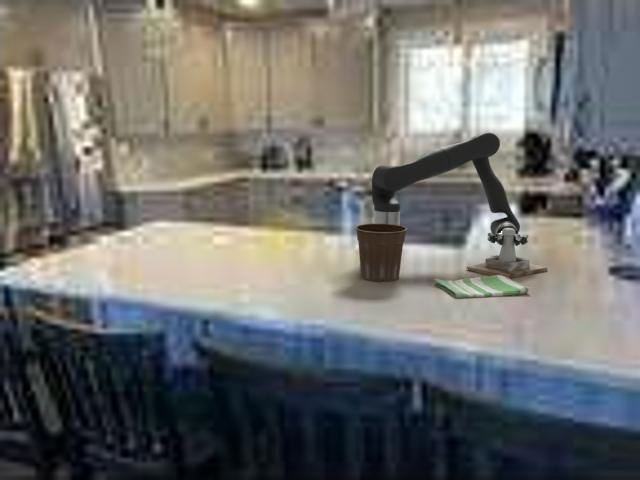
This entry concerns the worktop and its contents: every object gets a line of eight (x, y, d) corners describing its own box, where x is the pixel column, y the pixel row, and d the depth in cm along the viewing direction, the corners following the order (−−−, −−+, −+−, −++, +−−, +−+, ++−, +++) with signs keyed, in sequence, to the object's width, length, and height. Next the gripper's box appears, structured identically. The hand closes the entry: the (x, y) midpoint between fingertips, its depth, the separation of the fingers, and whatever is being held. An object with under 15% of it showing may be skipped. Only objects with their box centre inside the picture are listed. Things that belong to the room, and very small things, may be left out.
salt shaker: (516, 269, 233) (518, 230, 231) (498, 268, 234) (500, 229, 232) (515, 265, 239) (517, 227, 236) (497, 264, 240) (499, 226, 237)
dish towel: (432, 285, 216) (433, 276, 216) (502, 282, 221) (503, 274, 221) (456, 300, 199) (456, 290, 199) (531, 296, 204) (532, 287, 204)
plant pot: (391, 286, 212) (393, 233, 209) (344, 279, 220) (345, 228, 217) (413, 276, 226) (415, 226, 223) (369, 270, 234) (370, 222, 231)
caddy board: (505, 279, 224) (506, 267, 223) (466, 270, 236) (467, 259, 235) (547, 270, 237) (547, 259, 236) (508, 262, 249) (508, 252, 249)
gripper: (486, 222, 249) (487, 230, 233) (528, 224, 246) (532, 232, 230) (485, 243, 251) (486, 252, 234) (527, 245, 248) (530, 254, 231)
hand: (509, 242), depth 232 cm, fingers open, 4 cm apart
